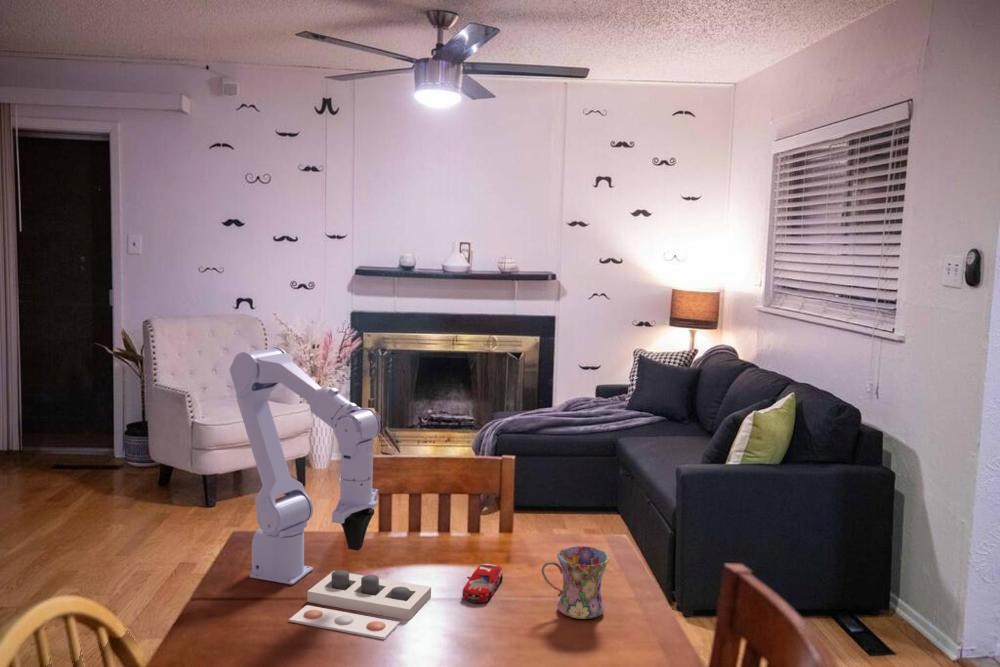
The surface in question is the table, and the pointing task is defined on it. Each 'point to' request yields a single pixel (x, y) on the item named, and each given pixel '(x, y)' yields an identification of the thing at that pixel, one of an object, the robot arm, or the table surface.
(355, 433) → the robot arm
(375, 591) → the button middle
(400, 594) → the button outer
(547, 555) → the table surface
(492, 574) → the race car
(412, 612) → the button board
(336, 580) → the button inner
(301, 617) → the pattern card
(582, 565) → the mug
